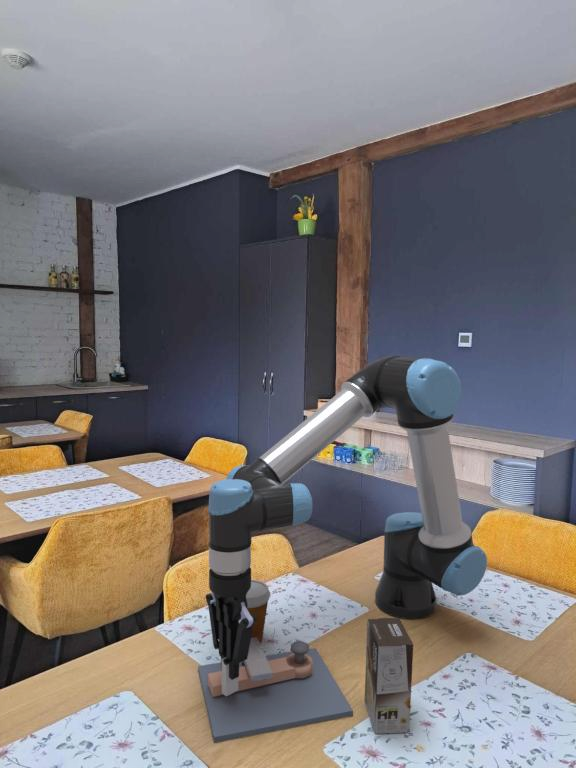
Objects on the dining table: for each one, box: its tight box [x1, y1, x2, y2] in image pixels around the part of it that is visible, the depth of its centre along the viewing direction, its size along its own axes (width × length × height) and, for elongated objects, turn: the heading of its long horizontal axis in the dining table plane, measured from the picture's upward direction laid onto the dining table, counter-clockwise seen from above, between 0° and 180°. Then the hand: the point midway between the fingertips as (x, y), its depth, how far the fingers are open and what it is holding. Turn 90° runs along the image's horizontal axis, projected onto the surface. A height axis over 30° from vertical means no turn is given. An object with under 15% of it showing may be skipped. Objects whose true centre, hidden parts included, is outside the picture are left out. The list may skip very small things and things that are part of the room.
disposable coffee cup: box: [246, 579, 272, 645], centre depth 121 cm, size 10×10×12 cm
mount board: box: [197, 647, 354, 744], centre depth 105 cm, size 25×20×1 cm
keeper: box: [239, 637, 273, 682], centre depth 107 cm, size 4×12×6 cm, turn 17°
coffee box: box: [364, 617, 414, 735], centre depth 99 cm, size 9×6×16 cm
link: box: [208, 640, 313, 697], centre depth 107 cm, size 21×5×5 cm, turn 112°
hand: (229, 691), depth 101 cm, fingers closed
